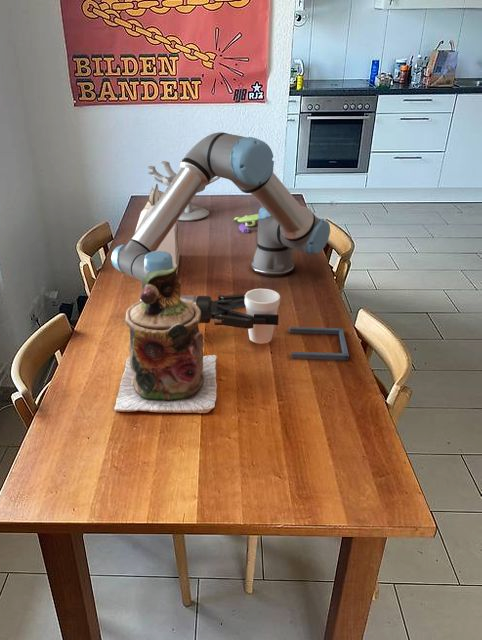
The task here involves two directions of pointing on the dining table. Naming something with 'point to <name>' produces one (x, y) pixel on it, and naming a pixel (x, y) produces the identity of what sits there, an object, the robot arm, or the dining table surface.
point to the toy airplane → (247, 222)
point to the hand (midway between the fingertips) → (278, 311)
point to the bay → (321, 356)
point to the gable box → (172, 238)
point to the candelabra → (190, 210)
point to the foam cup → (261, 312)
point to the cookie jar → (166, 352)
